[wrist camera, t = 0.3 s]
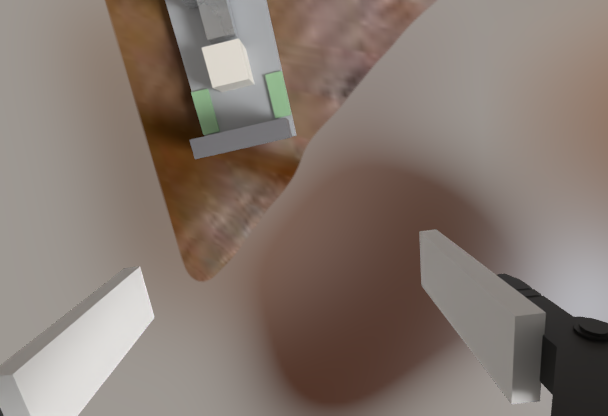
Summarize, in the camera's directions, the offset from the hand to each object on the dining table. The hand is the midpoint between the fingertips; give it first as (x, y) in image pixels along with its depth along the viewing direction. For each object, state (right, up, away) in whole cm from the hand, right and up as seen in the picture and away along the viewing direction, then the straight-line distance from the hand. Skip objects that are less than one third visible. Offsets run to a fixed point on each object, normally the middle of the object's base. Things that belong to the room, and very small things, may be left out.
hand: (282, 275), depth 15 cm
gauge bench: (-7, +20, +23) cm, 31 cm away
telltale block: (-7, +19, +22) cm, 30 cm away
